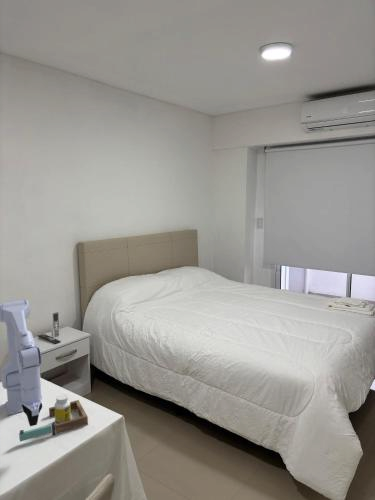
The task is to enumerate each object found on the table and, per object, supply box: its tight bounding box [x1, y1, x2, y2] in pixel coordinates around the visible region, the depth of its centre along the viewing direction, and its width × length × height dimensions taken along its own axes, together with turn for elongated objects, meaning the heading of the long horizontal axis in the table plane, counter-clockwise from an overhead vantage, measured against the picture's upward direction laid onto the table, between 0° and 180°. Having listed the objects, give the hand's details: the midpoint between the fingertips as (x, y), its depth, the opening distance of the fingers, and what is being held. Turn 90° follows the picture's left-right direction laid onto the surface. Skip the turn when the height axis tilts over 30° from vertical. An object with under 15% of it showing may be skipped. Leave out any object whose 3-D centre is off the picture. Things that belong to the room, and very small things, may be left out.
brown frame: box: [48, 399, 89, 436], centre depth 138 cm, size 13×12×4 cm
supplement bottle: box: [54, 393, 72, 424], centre depth 137 cm, size 5×5×10 cm
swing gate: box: [18, 423, 52, 442], centre depth 127 cm, size 10×1×3 cm, turn 119°
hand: (33, 424), depth 121 cm, fingers closed
